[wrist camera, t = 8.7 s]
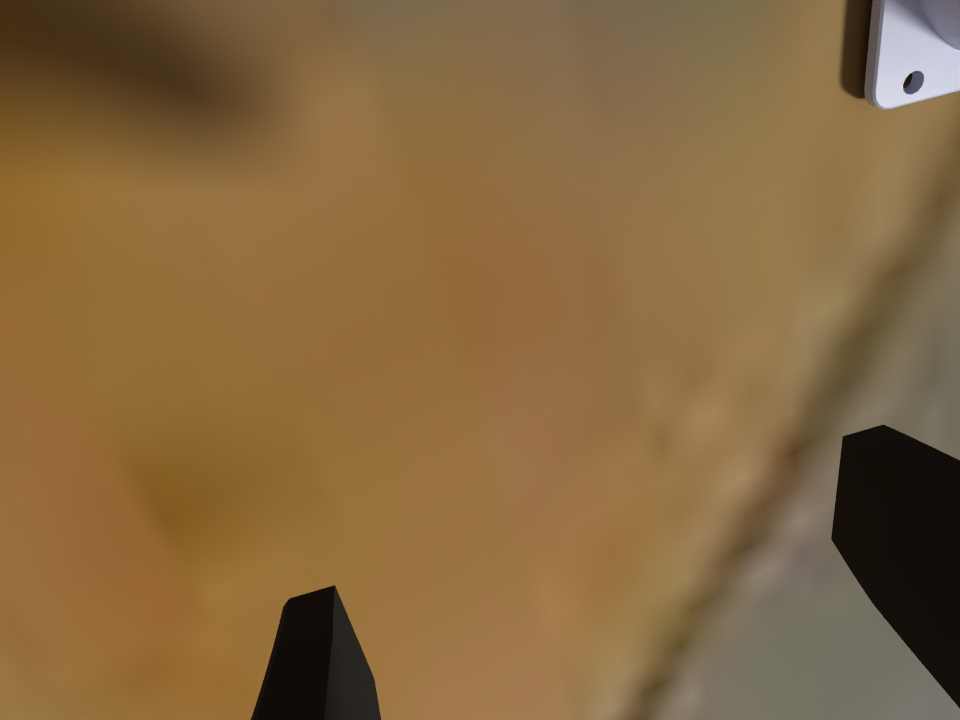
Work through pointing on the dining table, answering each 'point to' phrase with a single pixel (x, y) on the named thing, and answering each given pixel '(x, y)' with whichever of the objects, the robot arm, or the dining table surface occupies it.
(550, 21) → the dining table surface
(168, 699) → the dining table surface
